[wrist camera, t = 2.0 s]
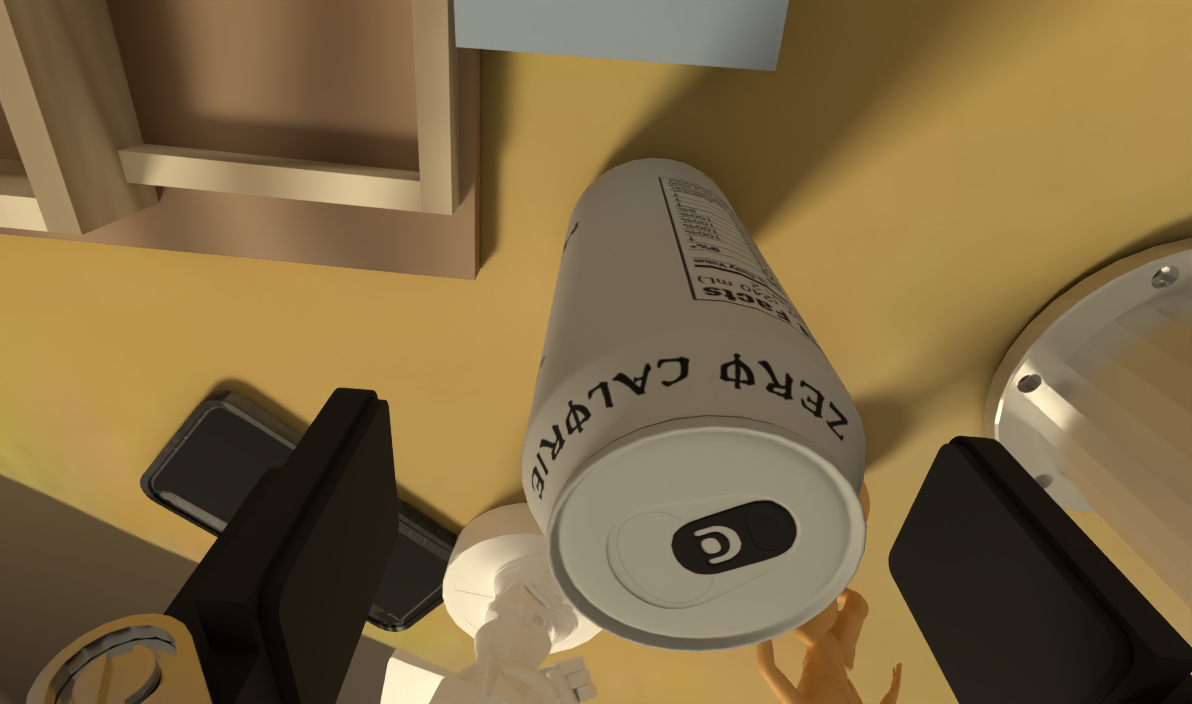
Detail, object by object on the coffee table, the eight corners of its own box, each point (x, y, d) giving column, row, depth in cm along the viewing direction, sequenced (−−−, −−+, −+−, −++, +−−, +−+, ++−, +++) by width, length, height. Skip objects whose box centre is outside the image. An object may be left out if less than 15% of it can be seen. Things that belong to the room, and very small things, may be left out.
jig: (480, -169, 17) (439, -226, 13) (480, 269, 23) (453, 322, 19) (-287, -260, 16) (-578, -348, 12) (-70, 216, 22) (-214, 258, 18)
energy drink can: (539, 196, 22) (428, 476, 8) (697, 121, 20) (854, 316, 7) (609, 331, 24) (607, 705, 11) (753, 273, 23) (944, 620, 10)
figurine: (894, 493, 28) (1063, 779, 18) (791, 558, 30) (885, 845, 20) (783, 389, 25) (904, 653, 15) (678, 469, 28) (719, 746, 17)
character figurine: (589, 633, 34) (579, 914, 23) (420, 599, 32) (329, 878, 22) (637, 524, 29) (651, 806, 19) (444, 480, 28) (347, 754, 18)
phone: (396, 637, 33) (130, 489, 28) (402, 619, 34) (147, 473, 29) (487, 568, 30) (210, 389, 25) (491, 550, 31) (225, 375, 26)
